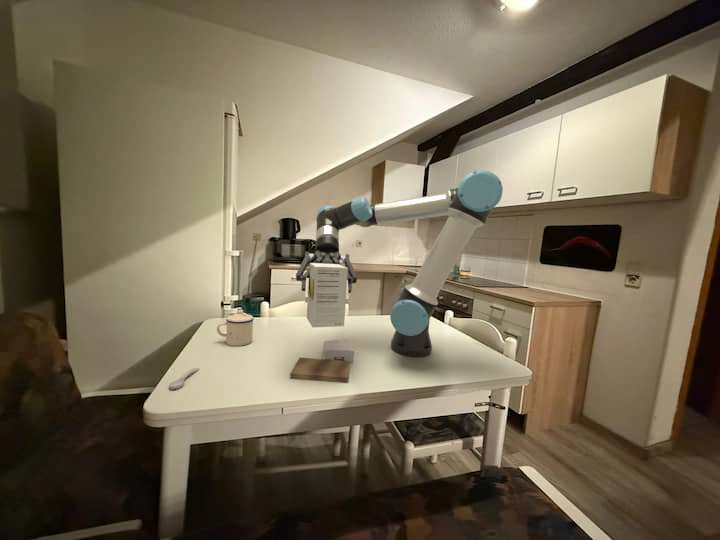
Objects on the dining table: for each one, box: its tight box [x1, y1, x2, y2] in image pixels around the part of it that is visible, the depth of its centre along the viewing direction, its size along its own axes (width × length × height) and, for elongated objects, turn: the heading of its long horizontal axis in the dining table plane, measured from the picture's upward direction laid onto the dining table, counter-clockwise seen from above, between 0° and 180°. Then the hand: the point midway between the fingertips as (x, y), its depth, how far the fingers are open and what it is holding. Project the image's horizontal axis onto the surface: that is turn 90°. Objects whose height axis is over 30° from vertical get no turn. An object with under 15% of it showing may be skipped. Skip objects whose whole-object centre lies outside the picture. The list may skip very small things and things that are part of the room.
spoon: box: [168, 367, 200, 391], centre depth 76 cm, size 3×12×2 cm, turn 3°
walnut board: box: [289, 357, 351, 384], centre depth 86 cm, size 16×11×2 cm
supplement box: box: [306, 262, 349, 328], centre depth 83 cm, size 10×9×17 cm
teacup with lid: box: [216, 309, 254, 347], centre depth 103 cm, size 12×9×12 cm
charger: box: [322, 339, 355, 365], centre depth 99 cm, size 5×9×15 cm
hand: (326, 300), depth 81 cm, fingers closed on supplement box, 10 cm apart
